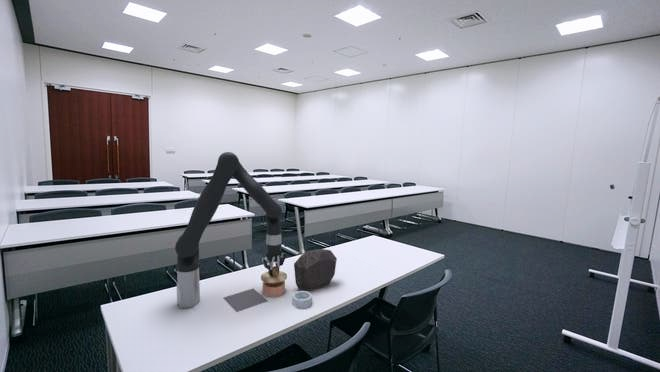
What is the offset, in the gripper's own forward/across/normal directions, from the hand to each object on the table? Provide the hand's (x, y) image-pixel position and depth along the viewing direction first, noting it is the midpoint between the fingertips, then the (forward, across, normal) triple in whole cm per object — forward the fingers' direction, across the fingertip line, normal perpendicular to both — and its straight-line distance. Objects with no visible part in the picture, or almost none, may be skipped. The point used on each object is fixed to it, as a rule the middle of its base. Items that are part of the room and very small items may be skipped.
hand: (273, 274), depth 157 cm
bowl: (+9, 0, 0) cm, 9 cm away
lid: (+1, 0, 0) cm, 1 cm away
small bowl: (+9, +5, -18) cm, 21 cm away
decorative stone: (+10, +21, -8) cm, 24 cm away
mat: (+9, -15, +1) cm, 18 cm away
